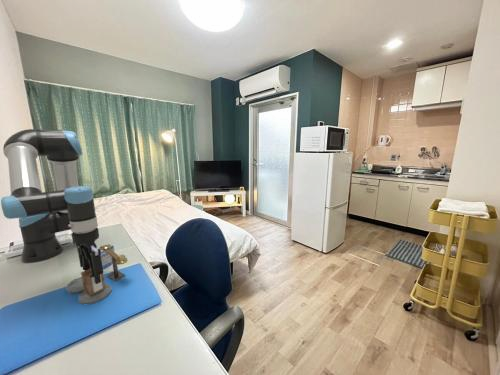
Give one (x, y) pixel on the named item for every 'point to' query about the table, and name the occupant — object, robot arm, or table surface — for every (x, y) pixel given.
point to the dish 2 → (95, 296)
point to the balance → (115, 262)
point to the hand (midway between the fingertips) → (94, 287)
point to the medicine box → (106, 257)
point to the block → (90, 283)
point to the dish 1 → (75, 286)
